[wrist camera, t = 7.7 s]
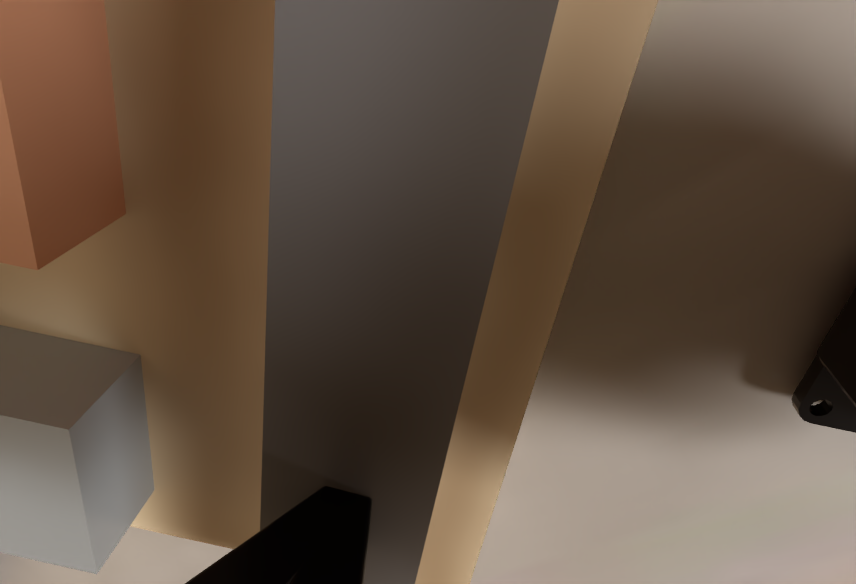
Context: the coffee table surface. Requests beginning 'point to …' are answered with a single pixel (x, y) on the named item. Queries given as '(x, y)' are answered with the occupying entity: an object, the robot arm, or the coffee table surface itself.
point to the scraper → (385, 243)
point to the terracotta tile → (55, 129)
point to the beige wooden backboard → (248, 258)
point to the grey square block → (70, 448)
